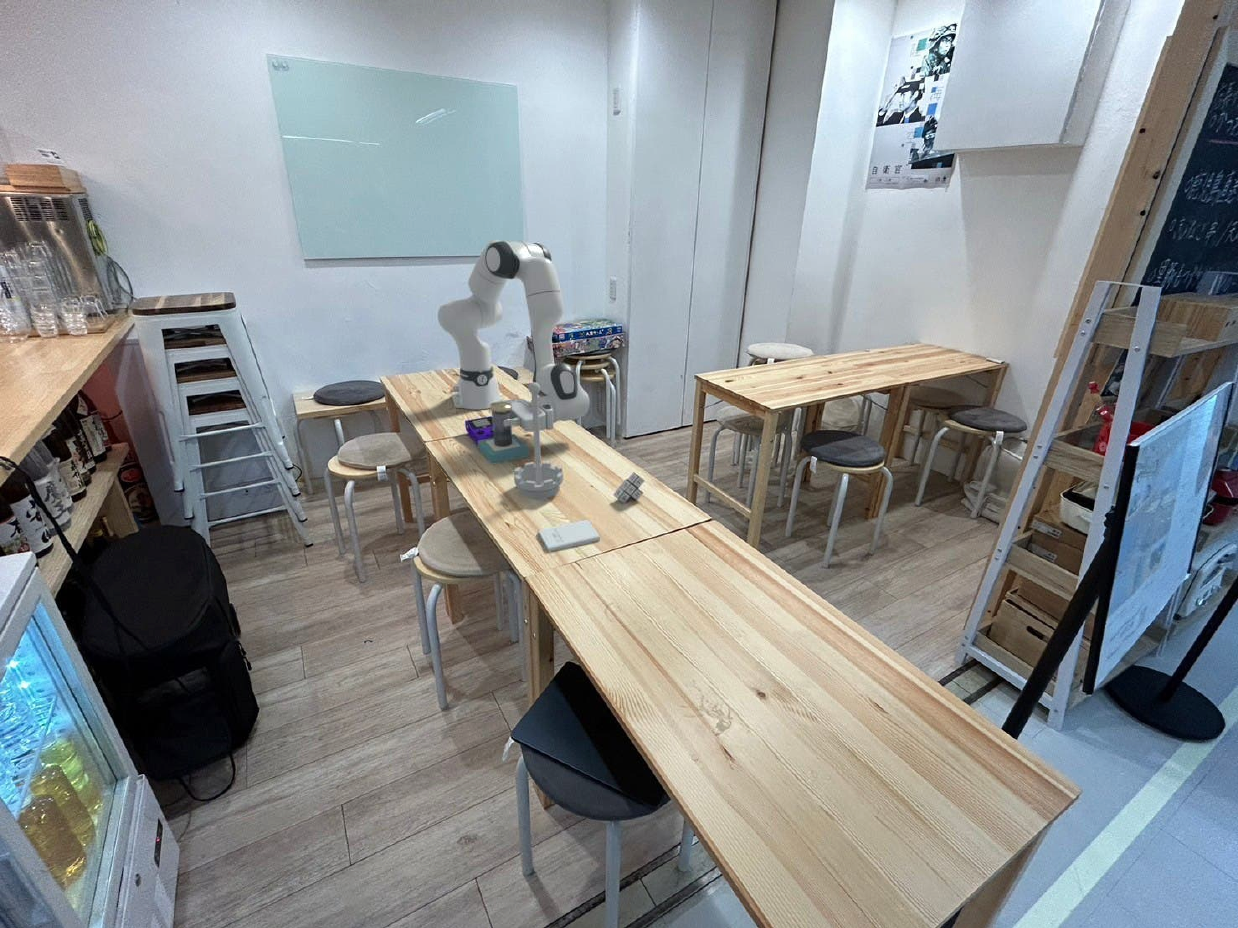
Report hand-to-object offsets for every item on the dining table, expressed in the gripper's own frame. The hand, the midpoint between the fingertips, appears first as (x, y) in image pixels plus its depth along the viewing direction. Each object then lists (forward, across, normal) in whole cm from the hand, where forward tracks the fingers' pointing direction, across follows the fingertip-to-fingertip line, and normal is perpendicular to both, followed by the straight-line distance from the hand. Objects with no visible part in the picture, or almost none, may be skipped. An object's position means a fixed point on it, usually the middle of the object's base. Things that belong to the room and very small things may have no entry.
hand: (498, 418), depth 164 cm
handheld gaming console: (0, -14, +12) cm, 18 cm away
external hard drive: (+3, +52, +12) cm, 53 cm away
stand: (-1, 0, +12) cm, 12 cm away
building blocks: (-20, +42, +12) cm, 48 cm away
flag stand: (-1, +27, +12) cm, 29 cm away
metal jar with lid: (-1, 0, +8) cm, 8 cm away
